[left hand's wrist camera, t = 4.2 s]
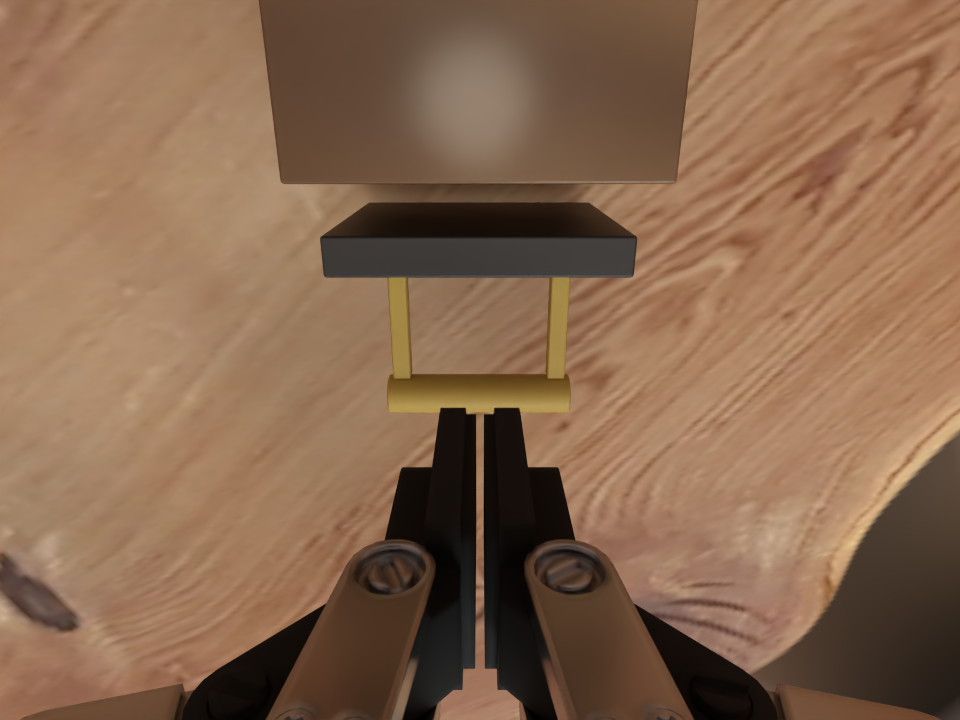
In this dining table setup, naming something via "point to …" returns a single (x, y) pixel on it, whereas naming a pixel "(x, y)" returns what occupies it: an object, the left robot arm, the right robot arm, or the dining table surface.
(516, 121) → the cabinet
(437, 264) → the drawer
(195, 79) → the dining table surface
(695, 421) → the dining table surface
